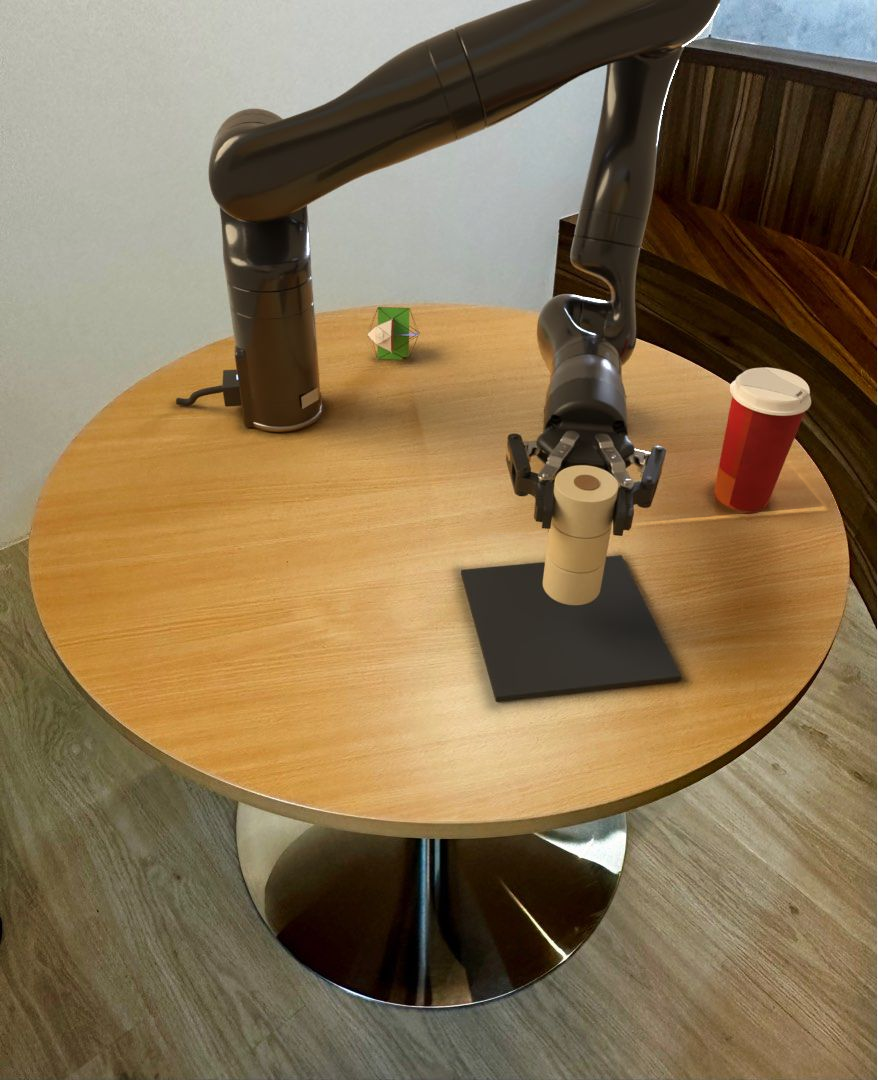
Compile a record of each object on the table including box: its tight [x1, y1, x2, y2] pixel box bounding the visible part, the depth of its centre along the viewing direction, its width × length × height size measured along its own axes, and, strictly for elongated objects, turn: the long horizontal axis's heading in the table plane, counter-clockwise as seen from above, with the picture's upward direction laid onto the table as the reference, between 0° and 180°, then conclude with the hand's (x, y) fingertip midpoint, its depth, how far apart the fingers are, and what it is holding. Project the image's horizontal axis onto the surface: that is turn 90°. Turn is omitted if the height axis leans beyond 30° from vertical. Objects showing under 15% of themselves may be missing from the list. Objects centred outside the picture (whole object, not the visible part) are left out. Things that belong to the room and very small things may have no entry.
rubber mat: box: [460, 554, 683, 702], centre depth 79 cm, size 16×16×1 cm
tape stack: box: [543, 465, 618, 605], centre depth 73 cm, size 5×5×11 cm
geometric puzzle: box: [365, 306, 421, 361], centre depth 117 cm, size 7×7×8 cm
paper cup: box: [714, 366, 812, 515], centre depth 91 cm, size 8×8×14 cm
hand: (583, 523), depth 69 cm, fingers closed on tape stack, 5 cm apart
